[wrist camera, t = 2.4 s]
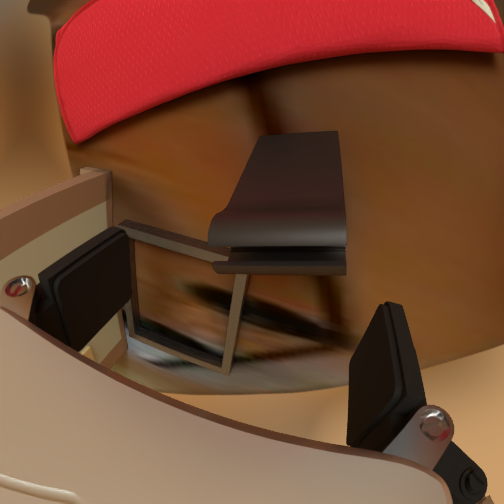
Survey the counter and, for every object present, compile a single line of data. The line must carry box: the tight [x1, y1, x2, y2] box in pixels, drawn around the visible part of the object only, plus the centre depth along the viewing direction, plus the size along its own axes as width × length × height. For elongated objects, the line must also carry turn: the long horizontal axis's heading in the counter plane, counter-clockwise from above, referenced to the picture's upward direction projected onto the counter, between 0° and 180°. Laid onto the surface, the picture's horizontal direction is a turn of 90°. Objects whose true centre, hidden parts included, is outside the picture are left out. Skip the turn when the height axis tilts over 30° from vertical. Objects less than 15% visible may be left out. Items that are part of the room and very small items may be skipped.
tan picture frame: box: [0, 167, 128, 369], centre depth 23 cm, size 4×26×23 cm, turn 171°
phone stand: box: [208, 131, 347, 275], centre depth 17 cm, size 9×6×12 cm, turn 8°
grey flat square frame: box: [118, 220, 250, 376], centre depth 31 cm, size 14×16×2 cm
